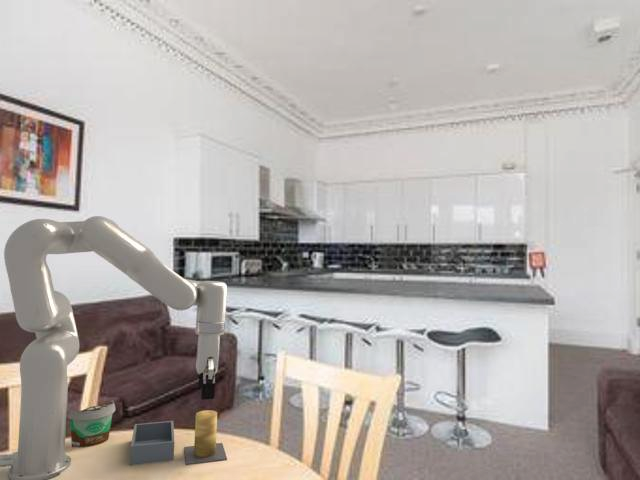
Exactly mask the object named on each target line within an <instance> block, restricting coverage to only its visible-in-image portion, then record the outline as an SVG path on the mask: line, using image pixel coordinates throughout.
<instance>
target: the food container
mask: <svg viewBox="0 0 640 480" xmlns="http://www.w3.org/2000/svg"><path fill="white" fill-rule="evenodd" d="M115 412H116V405H115V402H114V400H113V399H111V401H110V403H109V402H108V403H106V404H103V405H94V406H89V407H87V408H85V409H82V410H78V411H76V410H72V409H70V410H69V412H68V415H67V419H69V420H70V421H69V422H70V423H69V424H70V442H71V443H70V444H71V447H72V448H74V447H77V448H89V447H96V446H99V445H100V444H103V443H106V442H107V441H108V440H109V438H110V431H111V426H112V420H113V419H112V418H113V414H114V413H115Z"/></svg>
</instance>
